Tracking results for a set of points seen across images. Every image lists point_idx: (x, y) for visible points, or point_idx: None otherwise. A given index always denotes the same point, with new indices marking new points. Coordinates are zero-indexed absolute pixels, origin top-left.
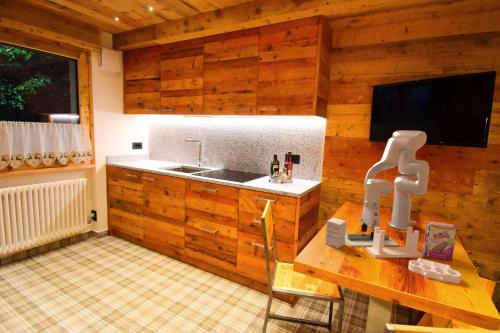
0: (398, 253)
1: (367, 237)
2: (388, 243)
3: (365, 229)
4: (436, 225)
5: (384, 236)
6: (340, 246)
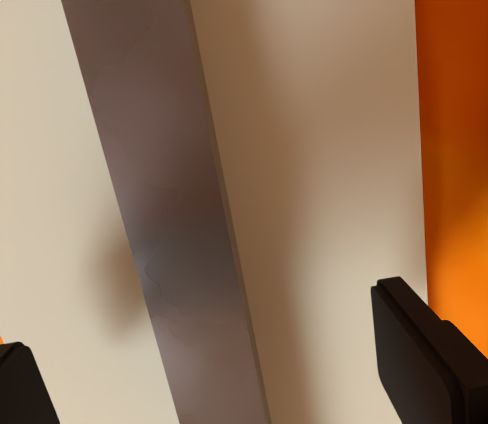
0: None
1: (256, 365)
2: (353, 6)
3: (10, 409)
4: None
5: (188, 14)
6: None
